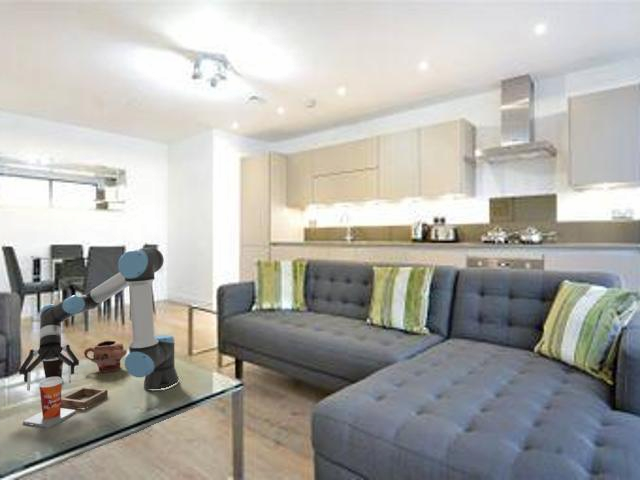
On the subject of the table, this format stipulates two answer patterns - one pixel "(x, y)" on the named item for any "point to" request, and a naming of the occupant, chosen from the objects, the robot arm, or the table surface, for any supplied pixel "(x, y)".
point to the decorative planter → (107, 355)
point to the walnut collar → (94, 392)
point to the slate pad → (48, 423)
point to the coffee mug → (53, 367)
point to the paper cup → (51, 396)
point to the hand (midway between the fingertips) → (49, 385)
